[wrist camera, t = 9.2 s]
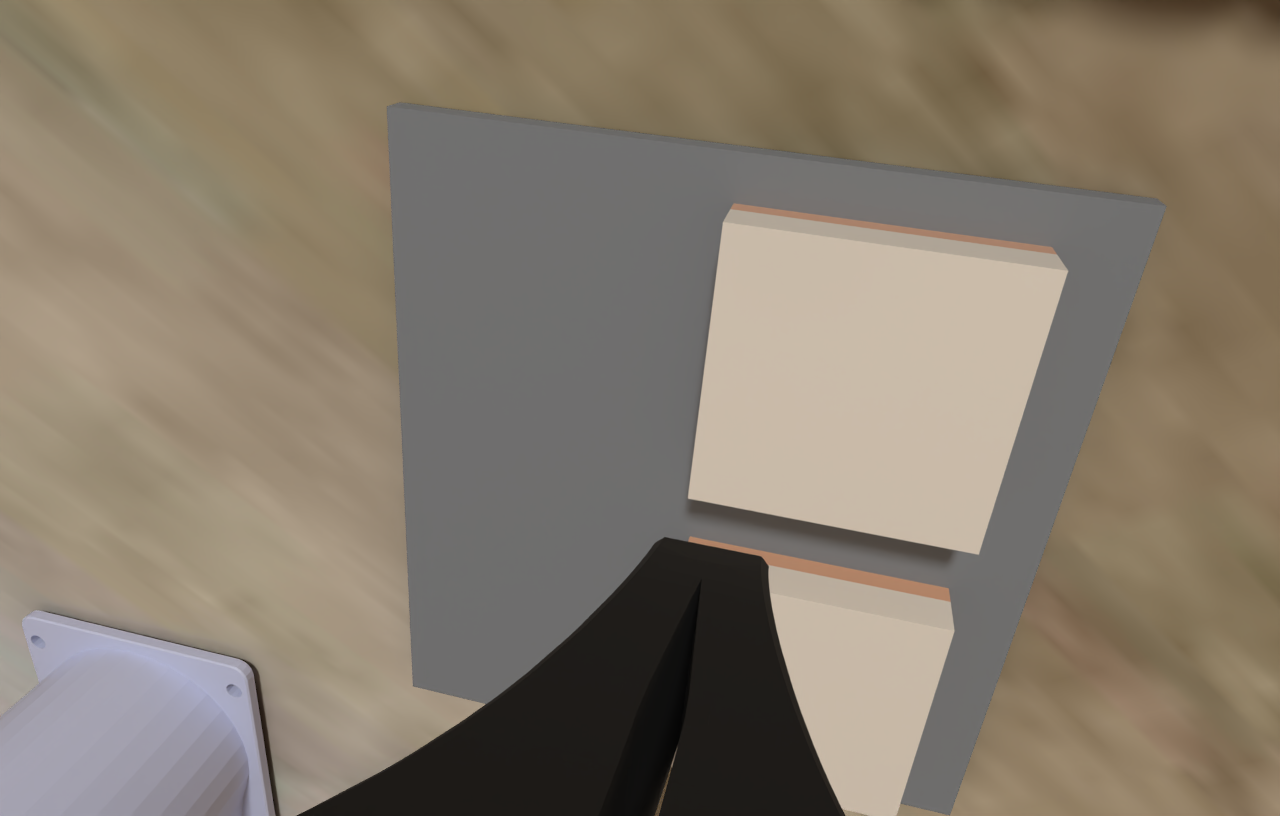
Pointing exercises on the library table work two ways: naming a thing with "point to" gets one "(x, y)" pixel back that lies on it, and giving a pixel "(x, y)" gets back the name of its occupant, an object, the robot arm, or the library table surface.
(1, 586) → the library table surface
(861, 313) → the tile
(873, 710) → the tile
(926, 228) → the slate mat
